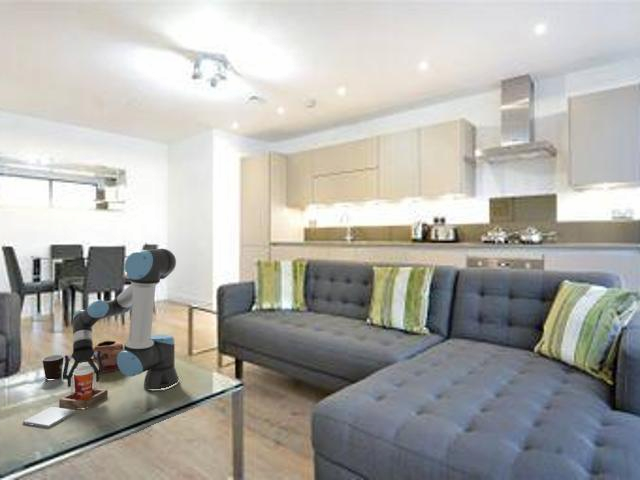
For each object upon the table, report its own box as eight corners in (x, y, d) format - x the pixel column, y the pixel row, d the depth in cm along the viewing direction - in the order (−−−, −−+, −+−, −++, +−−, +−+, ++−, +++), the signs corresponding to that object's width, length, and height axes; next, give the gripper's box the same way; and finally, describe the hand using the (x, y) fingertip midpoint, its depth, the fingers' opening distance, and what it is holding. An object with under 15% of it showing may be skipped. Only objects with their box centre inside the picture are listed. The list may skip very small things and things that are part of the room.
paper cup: (79, 407, 161) (78, 373, 161) (69, 402, 165) (69, 369, 165) (98, 400, 168) (97, 367, 167) (88, 395, 172) (88, 364, 171)
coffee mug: (53, 382, 185) (53, 361, 185) (38, 380, 187) (37, 360, 187) (73, 373, 197) (73, 353, 196) (59, 371, 199) (58, 352, 198)
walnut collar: (107, 396, 171) (107, 389, 171) (84, 409, 159) (84, 402, 159) (83, 393, 174) (83, 386, 174) (59, 406, 162) (59, 399, 162)
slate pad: (76, 412, 157) (76, 410, 157) (48, 428, 145) (48, 425, 145) (51, 409, 159) (51, 406, 159) (23, 423, 148) (23, 421, 148)
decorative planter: (80, 376, 193) (79, 348, 192) (87, 367, 205) (86, 340, 204) (124, 372, 199) (124, 344, 198) (129, 363, 211) (128, 337, 210)
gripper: (108, 343, 184) (111, 389, 171) (55, 350, 173) (54, 400, 160) (109, 335, 179) (112, 382, 166) (54, 341, 169) (53, 392, 156)
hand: (83, 391), depth 163 cm, fingers closed on paper cup, 8 cm apart
